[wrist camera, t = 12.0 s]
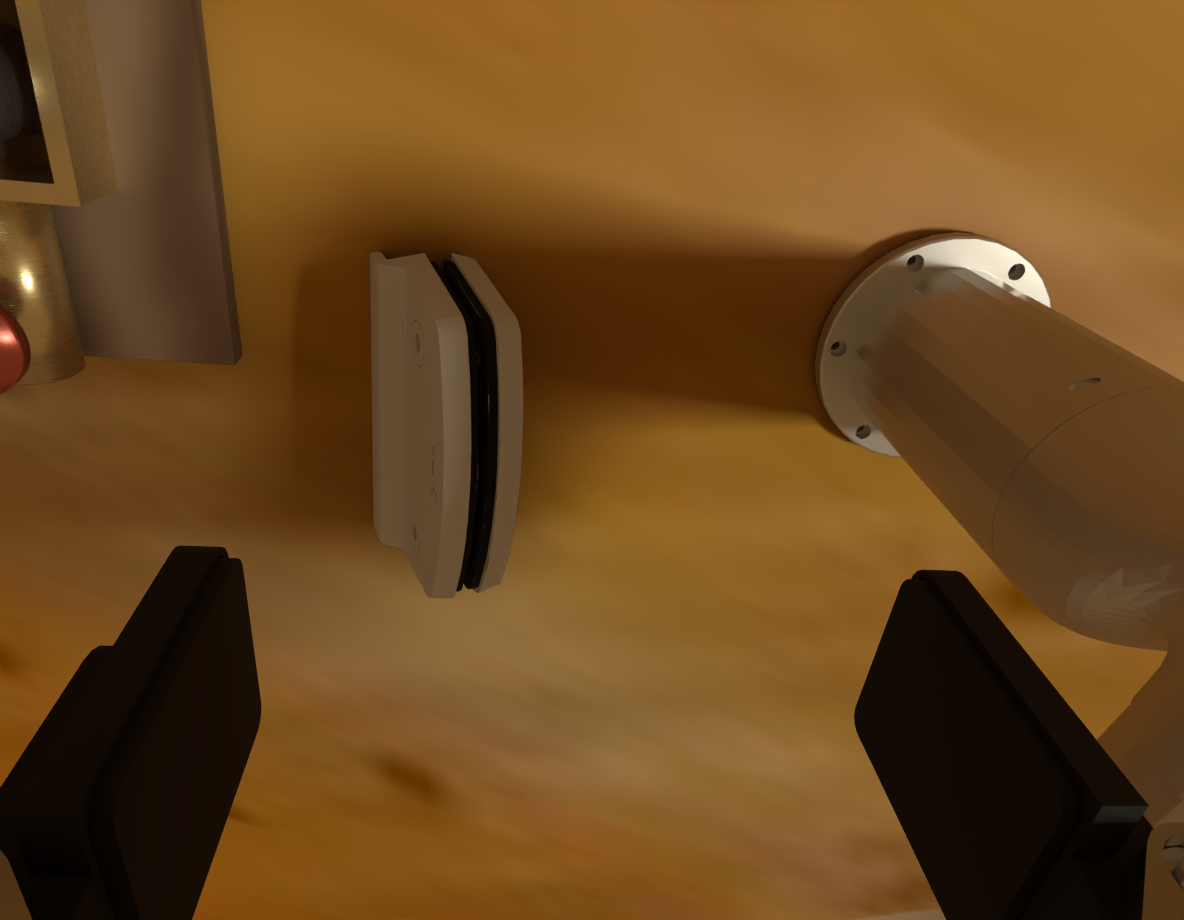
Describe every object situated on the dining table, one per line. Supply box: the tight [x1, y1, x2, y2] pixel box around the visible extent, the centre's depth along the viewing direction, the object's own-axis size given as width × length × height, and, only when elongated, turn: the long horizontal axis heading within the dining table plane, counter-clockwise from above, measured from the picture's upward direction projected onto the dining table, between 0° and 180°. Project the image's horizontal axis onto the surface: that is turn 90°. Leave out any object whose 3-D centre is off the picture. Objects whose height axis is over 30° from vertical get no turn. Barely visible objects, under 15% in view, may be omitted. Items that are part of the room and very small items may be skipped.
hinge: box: [370, 251, 523, 598], centre depth 39 cm, size 17×5×10 cm, turn 173°
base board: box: [0, 0, 242, 365], centre depth 34 cm, size 14×18×1 cm
